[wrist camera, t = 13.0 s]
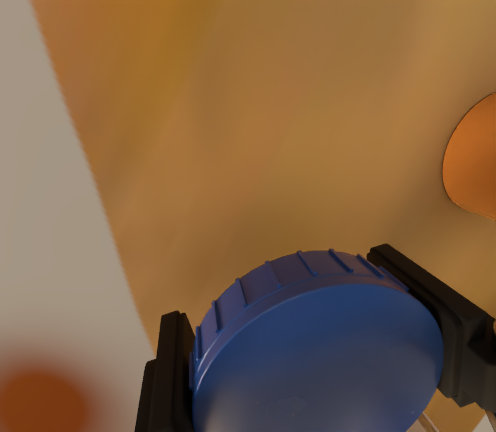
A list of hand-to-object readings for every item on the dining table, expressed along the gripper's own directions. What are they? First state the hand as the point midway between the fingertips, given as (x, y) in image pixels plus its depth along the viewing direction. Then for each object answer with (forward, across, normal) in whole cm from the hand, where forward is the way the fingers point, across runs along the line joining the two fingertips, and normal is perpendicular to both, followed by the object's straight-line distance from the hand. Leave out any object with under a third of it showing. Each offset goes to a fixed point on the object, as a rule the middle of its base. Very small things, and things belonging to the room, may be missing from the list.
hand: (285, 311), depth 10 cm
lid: (-3, 0, 0) cm, 3 cm away
